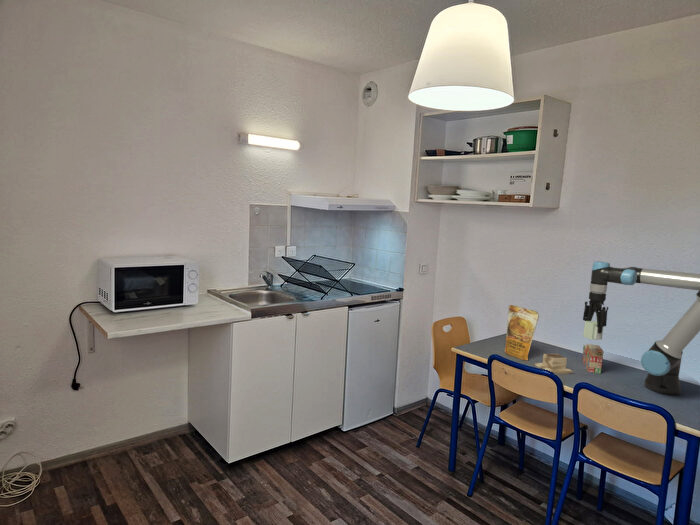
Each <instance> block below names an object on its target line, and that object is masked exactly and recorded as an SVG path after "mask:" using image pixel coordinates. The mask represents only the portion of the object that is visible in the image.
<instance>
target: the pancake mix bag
mask: <svg viewBox="0 0 700 525" xmlns="http://www.w3.org/2000/svg"><path fill="white" fill-rule="evenodd" d="M507 309H508V310H507V312H508V313H507V322H506V337H505V338H506V340H505V341H506V342H505V345H504V346H505V347H504V353H505V354H506V355H507V356H511V357H513V358H515V359H519V360H521V361H528V360H529V352H530V348H531V347H532V346H531V345H532V342H533V338H534V336H535V333H536V332H535V331H536V328H537V325H538V322H539V318H540V313H538V311H537V310H533V309H530V308H526V307H522V306H517V305H513V304H510V305H508V308H507Z"/></svg>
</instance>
